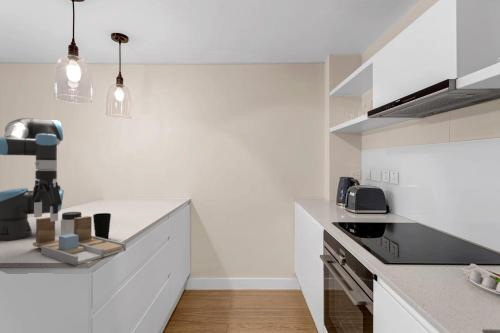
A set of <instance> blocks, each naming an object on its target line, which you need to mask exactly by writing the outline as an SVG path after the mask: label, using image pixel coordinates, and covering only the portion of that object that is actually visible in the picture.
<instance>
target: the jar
mask: <svg viewBox="0 0 500 333" xmlns="http://www.w3.org/2000/svg"><path fill="white" fill-rule="evenodd" d="M78 217H82V212H81V211H68V212H67V211H66V212H63V213H62V214H61V219H60V236H62V235H67V234H74V218H78Z"/></svg>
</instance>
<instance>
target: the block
mask: <svg viewBox="0 0 500 333" xmlns="http://www.w3.org/2000/svg"><path fill="white" fill-rule="evenodd" d="M58 240H59V249H62V250H65V251H66V250H70V249H75V248H78V242H79V235H76V234H67V235H62V236H61V235H58Z"/></svg>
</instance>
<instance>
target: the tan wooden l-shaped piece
mask: <svg viewBox="0 0 500 333" xmlns="http://www.w3.org/2000/svg"><path fill="white" fill-rule="evenodd" d="M35 222H36V223H35V242H33V243H32V247H36V248H39V249H41V246H46V247H50V248H53V249H56V250H60V251H63V252H66V253H69V254H71V253H75V252H79V251H83V250H84V247H81V246H78V248H75V249H70V250H66V251H65V250H62V249H59V239H56V221H53V222H50V216H49V217H41V218H40V217H39V218H36V219H35Z"/></svg>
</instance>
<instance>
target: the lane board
mask: <svg viewBox="0 0 500 333" xmlns="http://www.w3.org/2000/svg"><path fill="white" fill-rule="evenodd" d="M91 238H93V239H98V240H102V241H104V243H102V244H97V245H93V246H89V245H85V244H82V243H78V246H81V247H84V250H83V251H79V252H75V253H71V254H69V253H66V252H63V251H60V250H56V249H53V248H50V247H46V246H41V248H40V249H41V250H40V251H41V255H43V254H44V256H47V257H49V258H53V259H56V260H59V261H62V262H65V263H68V264H71V265H73V266H77V265H81V264H84V263H87V262H91V261H95V260H98V259H101V258H105V257H107V256H112V255H116V254H119V253H122V252H125V251H127V250H126V249H127V247H126V246H127V243H125V242H121V241H116V240H112V239H110V238H108V239H104V238H100V237H96V236H95V235H91Z"/></svg>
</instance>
